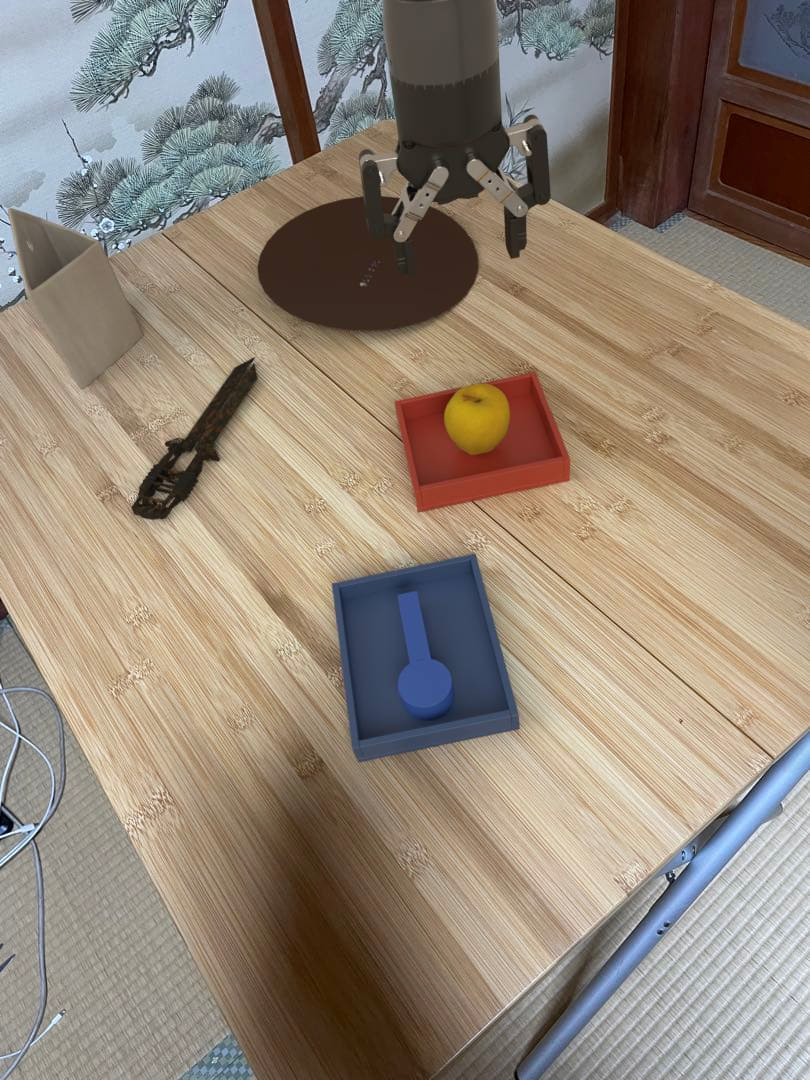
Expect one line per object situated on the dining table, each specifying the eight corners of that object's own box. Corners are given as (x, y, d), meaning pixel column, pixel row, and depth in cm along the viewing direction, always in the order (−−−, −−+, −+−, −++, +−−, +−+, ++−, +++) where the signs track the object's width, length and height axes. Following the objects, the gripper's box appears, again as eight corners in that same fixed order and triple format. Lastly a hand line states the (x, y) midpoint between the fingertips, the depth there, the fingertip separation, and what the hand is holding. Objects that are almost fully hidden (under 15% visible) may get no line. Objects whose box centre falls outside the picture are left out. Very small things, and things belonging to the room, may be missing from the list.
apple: (440, 464, 85) (432, 406, 79) (460, 420, 88) (453, 361, 82) (501, 474, 83) (497, 415, 77) (518, 429, 86) (516, 370, 80)
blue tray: (477, 570, 77) (475, 553, 75) (519, 729, 67) (518, 714, 65) (337, 599, 77) (331, 583, 75) (358, 762, 67) (352, 749, 65)
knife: (246, 359, 101) (243, 350, 100) (291, 369, 98) (288, 360, 97) (119, 510, 88) (114, 502, 87) (167, 526, 85) (163, 517, 84)
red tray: (535, 393, 90) (535, 371, 88) (569, 480, 82) (570, 459, 79) (398, 422, 90) (394, 400, 88) (418, 512, 82) (414, 491, 80)
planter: (143, 375, 102) (72, 231, 86) (79, 390, 101) (-3, 249, 86) (144, 298, 112) (81, 158, 97) (86, 312, 112) (14, 173, 97)
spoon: (386, 612, 74) (382, 597, 73) (434, 602, 74) (431, 587, 73) (406, 725, 67) (402, 712, 66) (459, 714, 67) (456, 700, 66)
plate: (442, 354, 96) (439, 328, 93) (229, 332, 105) (220, 307, 102) (502, 219, 112) (501, 193, 109) (312, 209, 120) (307, 184, 117)
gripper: (345, 100, 54) (384, 308, 67) (561, 54, 54) (559, 271, 66) (334, 54, 59) (372, 256, 71) (532, 12, 59) (535, 222, 71)
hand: (462, 263), depth 69 cm, fingers open, 8 cm apart
